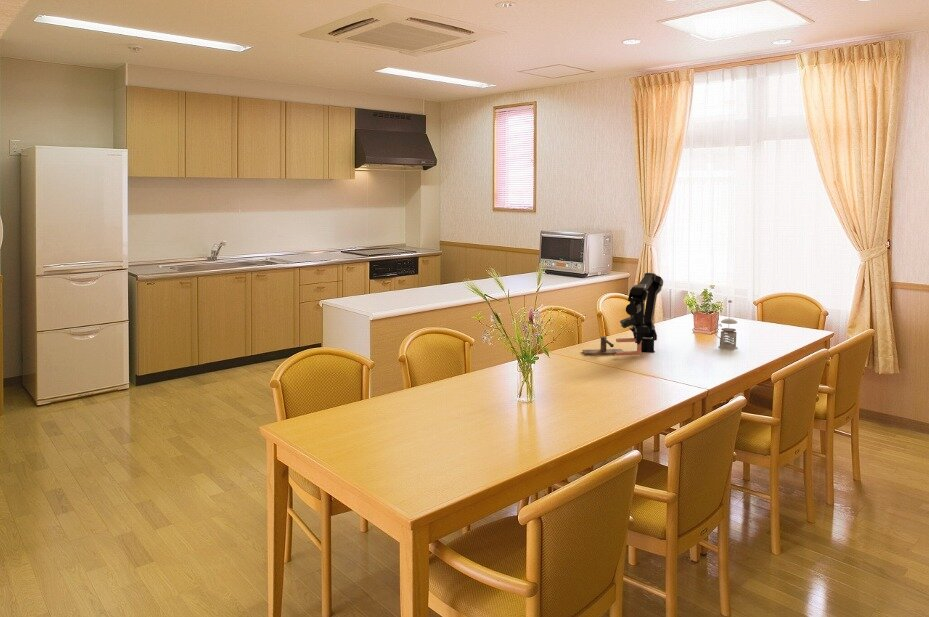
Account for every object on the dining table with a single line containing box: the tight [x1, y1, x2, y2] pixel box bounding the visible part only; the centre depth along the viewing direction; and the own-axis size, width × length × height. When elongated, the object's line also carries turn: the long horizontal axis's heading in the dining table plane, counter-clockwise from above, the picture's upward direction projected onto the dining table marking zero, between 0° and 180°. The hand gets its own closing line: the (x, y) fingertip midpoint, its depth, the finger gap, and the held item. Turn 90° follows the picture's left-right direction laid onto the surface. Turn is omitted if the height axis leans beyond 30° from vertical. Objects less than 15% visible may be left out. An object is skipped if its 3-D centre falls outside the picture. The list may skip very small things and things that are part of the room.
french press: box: [714, 299, 738, 351], centre depth 364 cm, size 10×12×25 cm
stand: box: [581, 336, 624, 356], centre depth 349 cm, size 20×21×8 cm
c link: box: [615, 337, 642, 356], centre depth 345 cm, size 12×2×8 cm, turn 93°
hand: (637, 343), depth 345 cm, fingers closed on c link, 2 cm apart
